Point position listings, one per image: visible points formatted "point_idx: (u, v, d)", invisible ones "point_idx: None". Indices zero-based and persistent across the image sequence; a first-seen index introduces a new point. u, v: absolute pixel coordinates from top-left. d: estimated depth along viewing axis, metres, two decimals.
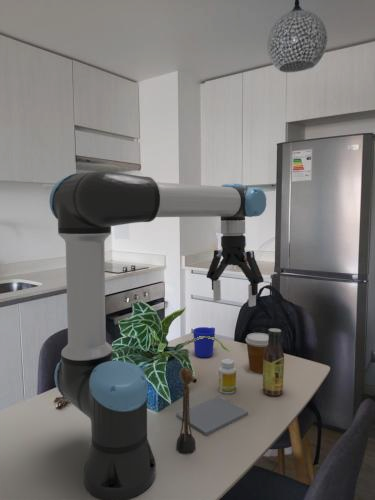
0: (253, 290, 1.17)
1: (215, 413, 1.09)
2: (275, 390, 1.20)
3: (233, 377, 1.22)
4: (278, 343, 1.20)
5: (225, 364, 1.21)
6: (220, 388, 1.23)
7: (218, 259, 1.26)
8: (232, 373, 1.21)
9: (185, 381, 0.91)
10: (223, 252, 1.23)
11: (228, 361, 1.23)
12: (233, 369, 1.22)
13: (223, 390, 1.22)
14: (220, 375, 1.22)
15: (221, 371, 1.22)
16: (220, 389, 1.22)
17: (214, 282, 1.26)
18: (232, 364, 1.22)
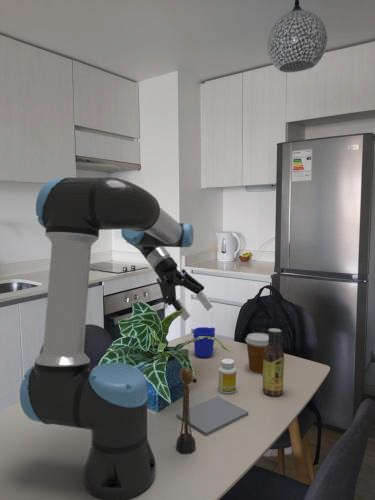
0: (204, 295, 1.35)
1: (215, 413, 1.09)
2: (275, 390, 1.20)
3: (233, 377, 1.22)
4: (278, 343, 1.20)
5: (225, 364, 1.21)
6: (220, 388, 1.23)
7: None
8: (232, 373, 1.21)
9: (185, 381, 0.91)
10: (168, 274, 1.30)
11: (228, 361, 1.23)
12: (233, 369, 1.22)
13: (223, 390, 1.22)
14: (220, 375, 1.22)
15: (221, 371, 1.22)
16: (220, 389, 1.22)
17: (178, 300, 1.23)
18: (232, 364, 1.22)
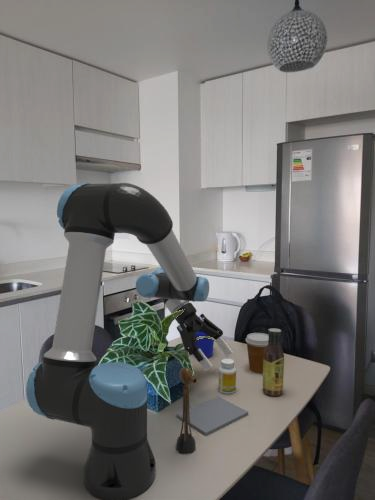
0: (223, 340, 1.34)
1: (215, 413, 1.09)
2: (275, 390, 1.20)
3: (233, 377, 1.22)
4: (278, 343, 1.20)
5: (225, 364, 1.21)
6: (220, 388, 1.23)
7: None
8: (232, 373, 1.21)
9: (185, 381, 0.91)
10: (187, 321, 1.28)
11: (228, 361, 1.23)
12: (233, 369, 1.22)
13: (223, 390, 1.22)
14: (220, 375, 1.22)
15: (221, 371, 1.22)
16: (220, 389, 1.22)
17: (200, 350, 1.22)
18: (232, 364, 1.22)
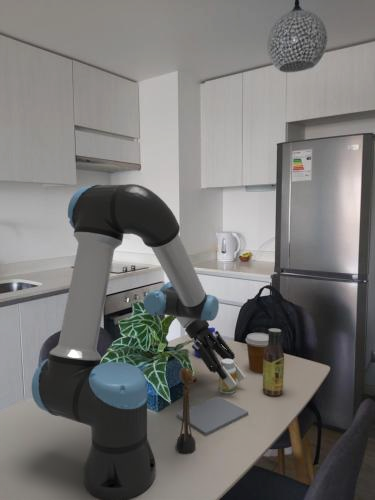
0: (235, 364, 1.26)
1: (215, 413, 1.09)
2: (275, 390, 1.20)
3: (233, 377, 1.22)
4: (278, 343, 1.20)
5: (225, 364, 1.21)
6: (220, 388, 1.23)
7: None
8: (232, 373, 1.21)
9: (185, 381, 0.91)
10: (200, 336, 1.24)
11: (228, 361, 1.23)
12: (233, 369, 1.22)
13: (223, 390, 1.22)
14: None
15: None
16: (220, 389, 1.22)
17: (223, 367, 1.21)
18: (232, 364, 1.22)
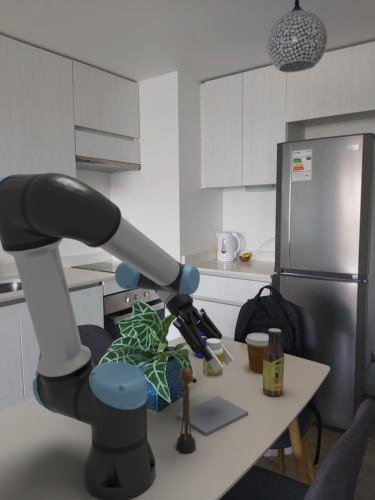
0: None
1: (215, 413, 1.09)
2: (275, 390, 1.20)
3: (220, 359, 1.06)
4: (278, 343, 1.20)
5: (210, 344, 1.06)
6: (204, 371, 1.07)
7: None
8: (218, 354, 1.05)
9: (185, 381, 0.91)
10: (182, 313, 1.09)
11: (214, 341, 1.07)
12: (220, 350, 1.06)
13: (208, 374, 1.06)
14: None
15: None
16: (205, 373, 1.07)
17: (208, 347, 1.05)
18: (219, 344, 1.06)
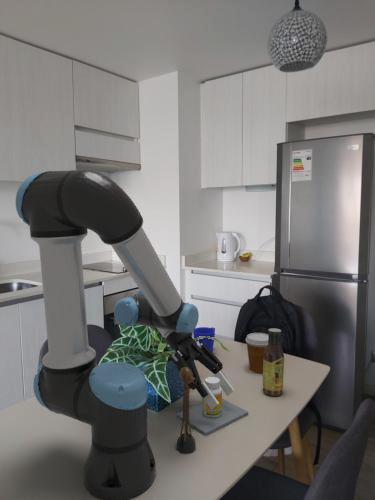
0: (223, 376, 1.12)
1: None
2: (275, 390, 1.20)
3: (218, 398, 1.06)
4: (278, 343, 1.20)
5: (209, 384, 1.06)
6: (203, 410, 1.07)
7: None
8: (217, 394, 1.06)
9: (185, 381, 0.91)
10: (181, 347, 1.09)
11: (213, 380, 1.08)
12: (218, 389, 1.07)
13: (207, 413, 1.07)
14: None
15: None
16: (204, 412, 1.07)
17: (204, 383, 1.04)
18: (217, 384, 1.06)
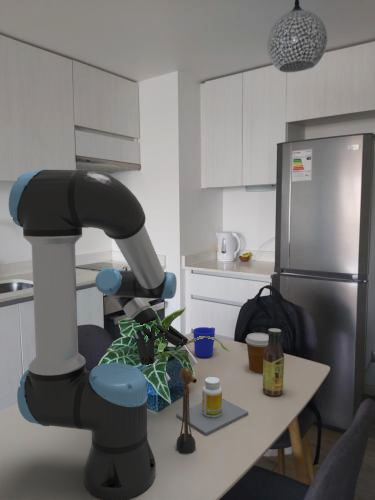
0: (188, 349, 1.21)
1: None
2: (275, 390, 1.20)
3: (218, 398, 1.06)
4: (278, 343, 1.20)
5: (209, 384, 1.06)
6: (203, 410, 1.07)
7: None
8: (217, 394, 1.06)
9: (185, 381, 0.91)
10: (146, 329, 1.16)
11: (213, 380, 1.08)
12: (219, 389, 1.07)
13: (207, 413, 1.07)
14: (204, 396, 1.07)
15: (205, 392, 1.07)
16: (204, 412, 1.07)
17: (157, 360, 1.10)
18: (217, 384, 1.06)
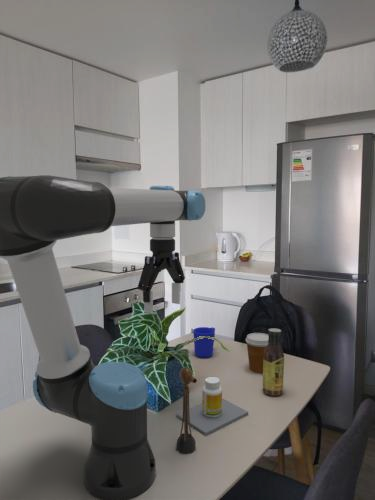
0: None
1: None
2: (275, 390, 1.20)
3: (218, 398, 1.06)
4: (278, 343, 1.20)
5: (209, 384, 1.06)
6: (203, 410, 1.07)
7: None
8: (217, 394, 1.06)
9: (185, 381, 0.91)
10: (159, 257, 1.15)
11: (213, 380, 1.08)
12: (219, 389, 1.07)
13: (207, 413, 1.07)
14: (204, 396, 1.07)
15: (205, 392, 1.07)
16: (204, 412, 1.07)
17: (152, 292, 1.13)
18: (217, 384, 1.06)
